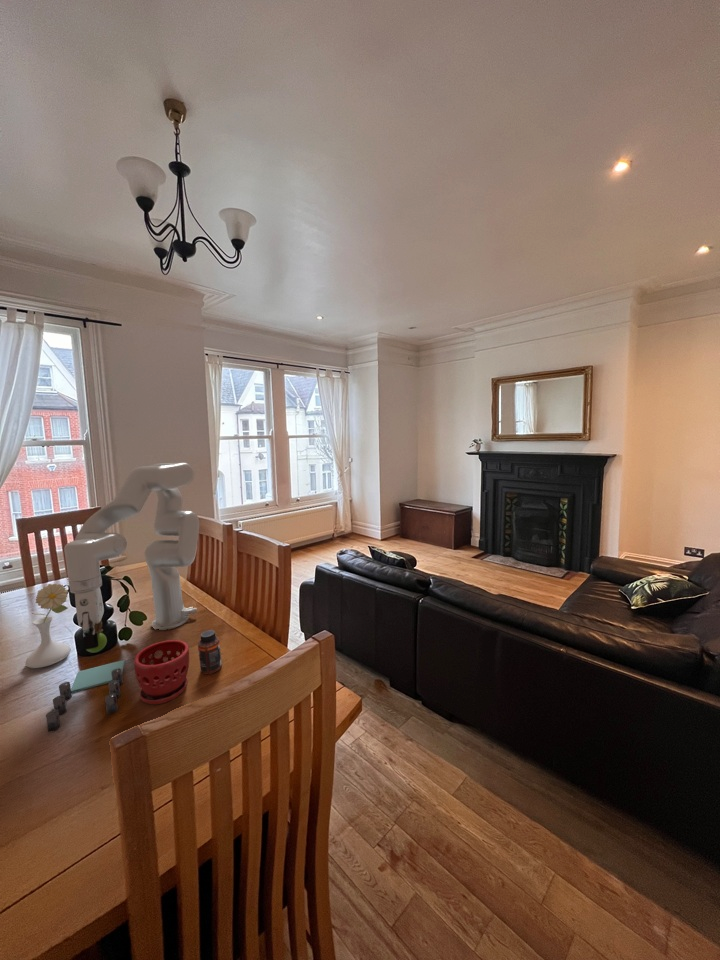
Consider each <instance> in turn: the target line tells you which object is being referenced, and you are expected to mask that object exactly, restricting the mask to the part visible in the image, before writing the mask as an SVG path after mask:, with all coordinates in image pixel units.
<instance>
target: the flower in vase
mask: <svg viewBox="0 0 720 960" xmlns="http://www.w3.org/2000/svg"><path fill="white" fill-rule="evenodd" d="M42 587H43V588H41V589H39V590H38V591H37V594H36V597H35V604H37V605H38V607H40V609H46V610H48V612H47V614H45V613H34V612H31V614H33V615H39V616H44V617H40V618H38V619H35V620H34V621H32V624H33V625H35V627H36V628H37V629H38V631H39V634H40V639H41V640H40V644H39V645H38V646H37V648H35V649H34V650H33V651H32V652H31V653H30V654H29V655H28V657H27V658H26V659H25V662H24V663H25V666H26V667H28V668H30V669H39V668H45V667H48V666H51V665H55V664H56V663H59V662H60V661H62V660H63V659H65V658H67V656H69V655H70V653H71V650H72V648H71V647H70V645H68V644H66V643H64V642H60V641H56V640H53V639H52V637H51V632H50V630H51V629H50V627H51V623H52V621H53V619H54V617H53V616H49V614H50V613H51V612H54V613H56V614H60V613H62V612H64V611H66V610H68V609H69V608H68V607H67V606H65V605H63V604H64V603H66V602H67V598H68V595H69V590H68V589H66V588H67V587H65V586H64V585H63V584H61V583H48V584H47V585H46V586H42Z"/></svg>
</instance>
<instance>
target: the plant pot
mask: <svg viewBox="0 0 720 960" xmlns="http://www.w3.org/2000/svg"><path fill="white" fill-rule="evenodd" d="M159 651H160V652H162V655H161V656H159V657H156V656H155V655H156V653H157V652H159ZM168 652H170V653H168ZM177 652H178V653H179V654H178V653H177ZM164 658H167V659H166V661H165V660H164ZM172 658H173V659H172ZM143 660H144V661H143ZM151 662H152V664H150V663H151ZM189 665H190V649H189V645H188V644H187V643H186V642H185V641H182V640H179V639H177V640H176V639H172V640H171V639H170V640H168V639H167V640H163V641H158V642H156V643H152V644H150V645H147V647H144V648H143V649H141V650H140V651H139V652H138V653H137V654H136V655H135V657H134V671H135V673H134V674H135V677H136V678H135V679H136V681H137V684H138V686H139V687H140V691H139V698H140V699H141V701H143V702H144V703H146V704H149V705H160V704H164V703H165V704H166V703H168V702H170V701H171V700H174V699H176V698H177V697H178V696H180V695H181V694H182V693H183V692H184V691H185V690H186V688H187V686H188V678H187V675H188V671H189Z"/></svg>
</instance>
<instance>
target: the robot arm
mask: <svg viewBox="0 0 720 960" xmlns="http://www.w3.org/2000/svg"><path fill="white" fill-rule="evenodd" d="M194 470H195V469H194V468H193V467H192V465H190V464H189V463H187V462H166V463H165V462H164V463H163V462H161V463H159V462H158V463H154V464H151V465H148V466H147V465H145V466H143V465H142V466H138V467H137V466H136V467H135V468H133V469H132V470H131V471H130V472H129V474H128V476H127V477H126V478H125V479H124V482H123V483H122V486H121V487H120V489H119V491H118V492H117V493H116V495H115V497H113V499H112V501H110V502H109V503H107V504H105V505H104V506H102V507H100V509H99V510H97V511H96V512H94V513H93V514H92V515H91V516H90V517H88V518H87V520H86V521H85V522H84V523H83V524H82V525H81V527H80V529H79V531H78V532H77V534H76V536H75V538H74V540H73V541H70V542H68V543H67V544H65V545H64V549H63V550H64V558H65V564H66V565H65V566H66V573H67V581H68V586H69V592H70V593H71V594H74V599H75V600H74V601H75V612H76V618H77V623H78V627H80V628H82V626H83V629H82V638H83V645H84V650H86V651H87V649H91V648H95V647H98V645H99V644H98V637H97V633H96V631H95V623H97V624H98V623H99V622H100V621H102V618H103V615H104V612H105V608H104V603H103V596H102V591H101V587H102V586H103V579H102V574H101V567H100V566H101V565H100V562H101V561H105V560H110V559H114V558H117V557H119V556H120V555H122V554H123V553H124V552H125V550H126V549H127V543H128V541H127V540H126V537H125V536H123V534H120V533H117V532H106V531H107V530H109V528H111V527H112V526H114V525H115V524H117V523H120V522H122V521H124V520H128V519H130V518H132V517H133V516H136V515H138V514H139V513H141V511H142V509H143V507H144V505H145V503H146V502H147V500H148V498H149V496H150V494H151V492H153V491H154V492H156V495H157V504H156V511H155V517H154V523H153V529H154V533H155V534H156V535H158V536H161V537H178V540H177V539H158V540H153V541H152V542H150V543H149V544H147V546H146V547H145V550H144V560H145V562H146V565H147V568H148V571H149V576H150V583H151V590H152V600H153V605H154V606H153V608H154V614H155V615H154V616H155V619H153V620H152V621H151V623H150V624H151V628H152V627H153V628H154V630H156V629H159V630H158V631H165V630H166V631H167V629H168V630H172V629H175V628H178V627H180V626H182V625H184V624H185V623H187V622H188V620H189V618H190V616H189V615H191V614H197V613H198V611H197V610H198V609H197V607H194V606H189V607H185V604H184V602H183V594H182V593H183V592H182V585H181V575H180V571H179V570H178V568H179V567H180V568H183V567H185V568H186V567H189V566H191V565H192V564H193V563H194V561H195V558H196V554H197V549H198V541H199V535H200V533H199V532H200V519H199V516H198V514H196V513H195V512H194V511H192V510H183V495H182V493H181V491H180V489H179V488H183V487H187V486H188V485H190V484H192V482H193V480H194V478H195V471H194ZM193 607H194V608H193ZM91 621H92V622H93V623H91V624H89V622H91ZM89 626H92V629H91V628H90V627H89ZM153 628H152V629H153ZM101 629H102V628H101ZM101 629H100V630H101ZM101 633H103V631H102V632H101Z"/></svg>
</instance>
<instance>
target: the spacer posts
mask: <svg viewBox="0 0 720 960" xmlns="http://www.w3.org/2000/svg"><path fill="white" fill-rule="evenodd" d="M111 674H112V682H110V683H107V684H108V685H107V686H108V687H107V688H108V692H109V693H108V694H107V695H106V696H105V697H104V701H105V709H106V715H111V714H114V713H116V712H117V711H118V710H119V707H118V698H120V697H121V695H122V694H121V688H120V686H121V685H123V684H124V679H123V672H122V671H121V669H120V668H118V669H115V670H113V671H112V672H111ZM71 688H72V686H71V683H70V681H64V682H62V683H61V684H60V685H58V692H59V695H57V696H55V697H54V698H53V699H52V705H53V709H52V710H50V711H48V712H47V713H46V714H45V718H46V725H47V731H48V733H53V732H56V731H58V730H59V729H60V728H61V725H62V724H61V720H60V719H61V718H60V716H63V715H64V714H66V712H67V703H66V702H68V701H69V700H71V698H72V697H73V693H71Z"/></svg>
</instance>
